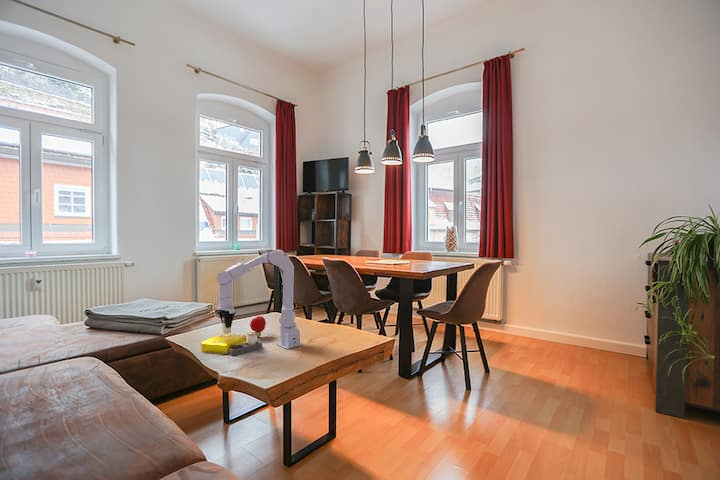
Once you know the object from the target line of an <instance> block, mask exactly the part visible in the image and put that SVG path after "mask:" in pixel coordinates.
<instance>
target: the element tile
mask: <svg viewBox="0 0 720 480" xmlns="http://www.w3.org/2000/svg"><path fill="white" fill-rule="evenodd" d="M200 343H201V345H200V346H201V349H200V350H201V352H202V353H210V354H211V353H213V354H224V355H225V354H226V355H227V354H228V349H227V348H231V349H233V350H234V347H233V346H235V345H239V344H243V343H248V338H247V335H246V334H237V333H236V334H234V333H227V334H224V333H219V334H216V335H215V336H212V337H210V338H208V339H206V340H203V341H201V342H200ZM228 355H229V354H228Z"/></svg>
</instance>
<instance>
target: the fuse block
mask: <svg viewBox="0 0 720 480" xmlns="http://www.w3.org/2000/svg"><path fill="white" fill-rule="evenodd" d="M233 347H234V350H233V349H231V348H227V349H228V355H229V356H231V357H233V356H236V355H241V354H245V353H249V352H253V351H257V350H260V349H263V342H260V341H259V340H257V339H256V345H251V346H248V342H247V343H243V344H239V345H235V346H233Z"/></svg>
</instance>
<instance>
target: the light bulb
mask: <svg viewBox="0 0 720 480" xmlns="http://www.w3.org/2000/svg"><path fill="white" fill-rule="evenodd" d="M266 325H267V322H266V318H265V317H264V316H262V315H261V316H260V315H258V316H256V317H254V318H252V319H251V320H250V324H249V326H250V330H252V332H256V338H260V337H261V336H262V332H263V331H264V330H265V328H266Z"/></svg>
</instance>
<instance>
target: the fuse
mask: <svg viewBox="0 0 720 480" xmlns="http://www.w3.org/2000/svg"><path fill="white" fill-rule="evenodd" d="M246 338H247V343H248V346H251V345H256V340H257V337H256V332H255V331H249V332H247V335H246Z"/></svg>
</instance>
